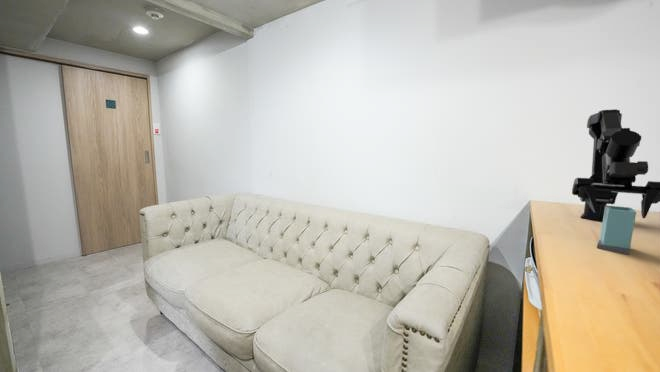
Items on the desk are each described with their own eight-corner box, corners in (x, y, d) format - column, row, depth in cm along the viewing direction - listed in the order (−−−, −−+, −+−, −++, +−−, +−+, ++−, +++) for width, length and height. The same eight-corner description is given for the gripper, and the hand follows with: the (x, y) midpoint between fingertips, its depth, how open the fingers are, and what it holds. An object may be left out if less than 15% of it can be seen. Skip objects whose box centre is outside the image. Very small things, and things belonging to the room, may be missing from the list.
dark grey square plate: (599, 242, 80) (602, 227, 79) (630, 248, 75) (633, 232, 75) (596, 247, 76) (599, 232, 75) (628, 254, 72) (631, 238, 71)
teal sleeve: (599, 239, 79) (605, 205, 77) (624, 242, 76) (631, 207, 74) (603, 245, 75) (608, 209, 73) (629, 249, 72) (636, 212, 70)
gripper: (578, 150, 81) (578, 194, 74) (677, 150, 70) (687, 203, 63) (572, 173, 88) (571, 215, 82) (660, 177, 77) (667, 226, 71)
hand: (619, 214), depth 74 cm, fingers open, 9 cm apart
